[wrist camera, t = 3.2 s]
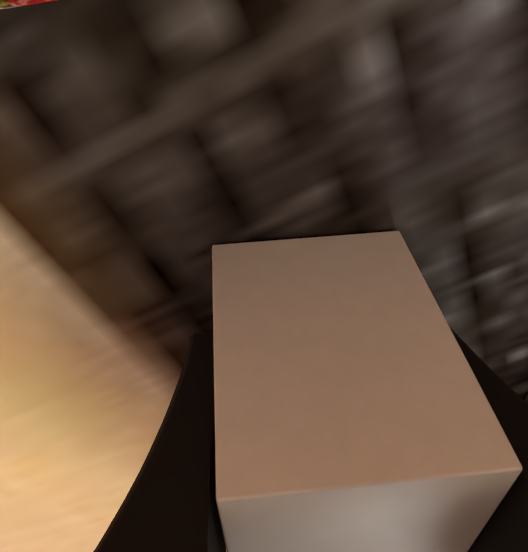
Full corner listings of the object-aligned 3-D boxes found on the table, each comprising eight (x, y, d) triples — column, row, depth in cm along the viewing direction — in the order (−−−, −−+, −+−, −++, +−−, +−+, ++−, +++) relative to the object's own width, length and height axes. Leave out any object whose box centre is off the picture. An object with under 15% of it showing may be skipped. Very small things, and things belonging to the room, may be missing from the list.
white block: (376, 351, 14) (453, 575, 10) (226, 364, 14) (236, 600, 10) (399, 229, 11) (524, 469, 7) (211, 244, 11) (215, 501, 7)
